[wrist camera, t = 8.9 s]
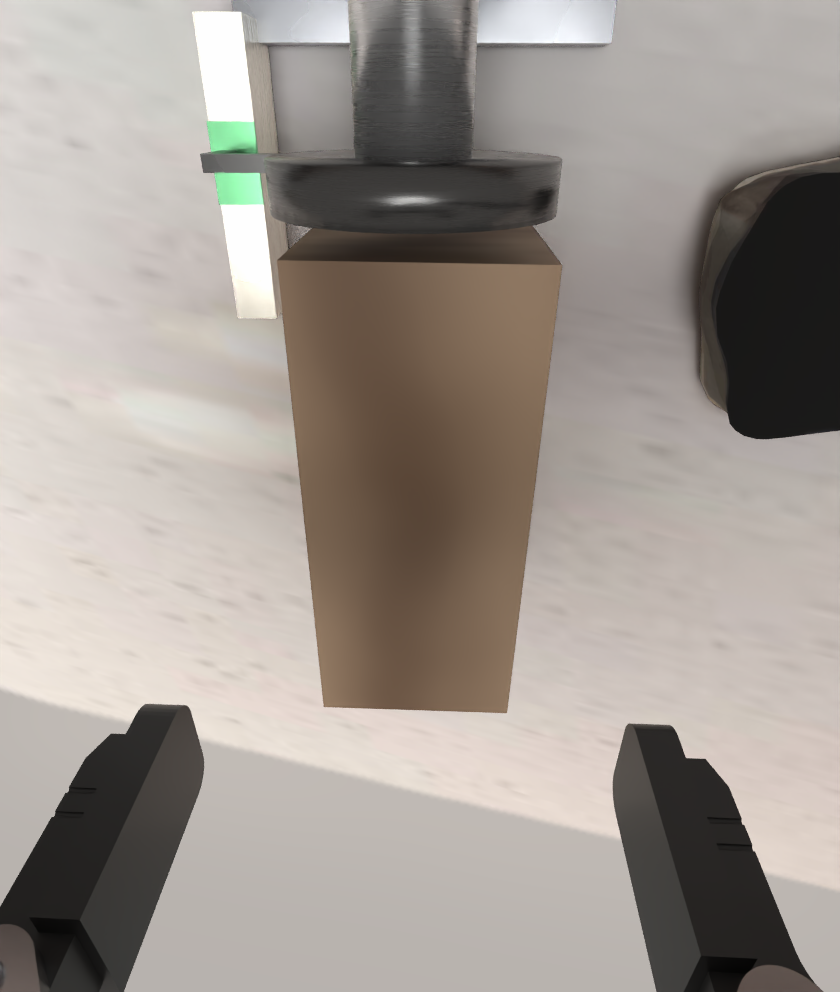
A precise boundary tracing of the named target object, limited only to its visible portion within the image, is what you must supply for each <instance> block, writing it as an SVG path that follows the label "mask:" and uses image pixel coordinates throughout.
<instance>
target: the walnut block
mask: <svg viewBox="0 0 840 992" xmlns="http://www.w3.org/2000/svg"><path fill="white" fill-rule="evenodd" d="M277 267H278V276H279V286H280V295H281V305H282V314H283V324H284V333H285V343H286V352H287V362H288V371H289V381H290V390H291V400H292V409H293V419H294V428H295V438H296V447H297V457H298V466H299V476H300V485H301V495H302V504H303V514H304V523H305V533H306V542H307V552H308V561H309V571H310V580H311V590H312V599H313V609H314V618H315V628H316V637H317V647H318V656H319V666H320V675H321V685H322V694H323V704H324V707H341V708H371V709H401V710H431V711H461V712H491V713H507V708H508V700H509V692H510V684H511V676H512V667H513V659H514V651H515V643H516V635H517V627H518V619H519V611H520V603H521V595H522V587H523V578H524V570H525V562H526V554H527V546H528V538H529V530H530V522H531V514H532V506H533V498H534V489H535V481H536V473H537V465H538V457H539V449H540V441H541V433H542V425H543V417H544V409H545V400H546V392H547V384H548V376H549V368H550V360H551V352H552V344H553V336H554V328H555V320H556V311H557V303H558V295H559V287H560V279H561V271H562V264H561V263H560V262H559V260H558V259H557V258H556V256H555V255H554V254H553V252H552V251H551V250H550V248H549V247H548V246H547V244H546V243H545V242H544V240H543V239H542V238H541V237H540V235H539V234H538V233H537V231H536V230H535V229H534V227H533V226H527V227H521V228H514V229H506V230H497V231H485V232H471V233H449V234H383V233H361V232H347V231H335V230H325V229H317V228H312V229H311V230H310V231H309V232H308V233H307V234H305V235H304V236H303V237H302V238H301V239H300V240H299V241H298V242H297V243H295V244H294V245H293V246H292V247H291V248H290V249H289V250H288V251H287V252H285V253H284V254H283V255H282V256H281V257H280V258H279V259H278V260H277Z"/></svg>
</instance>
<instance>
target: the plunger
mask: <svg viewBox="0 0 840 992" xmlns="http://www.w3.org/2000/svg"><path fill="white" fill-rule="evenodd" d="M478 5H479V0H348V18H349V40H350V62H351V84H352V107H353V129H354V150H325V151H307V152H294V153H237V151H236V150H219V151H214V152H208V153H203V154H200V155H201V161H202V168H203V173H266V181H267V190H268V199H269V208H270V215H271V216H272V217H273V218H275V219H277V220H279V221H282V222H285V223H289V224H293V225H298V226H304V227H310V228H317V229H325V230H335V231H347V232H361V233H383V234H449V233H471V232H485V231H497V230H506V229H514V228H521V227H527V226H532V225H537V224H540V223H544V222H547V221H549V220H552V219H553V218H554V217H556V213H557V204H558V194H559V185H560V176H561V167H562V159H561V158H559V157H556V156H550V155H543V154H534V153H522V152H507V151H487V150H472V148H473V124H474V100H475V76H476V53H477V29H478Z"/></svg>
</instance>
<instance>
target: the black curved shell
mask: <svg viewBox="0 0 840 992" xmlns="http://www.w3.org/2000/svg"><path fill="white" fill-rule="evenodd" d="M699 308H700V323H701V334H702V339H701V352H700V381H701V383H702V385H703V387H704V390H705V392H706V395H707V397H708V399H709V400H710V401H711V402H712V403H713V404H714V405H716V406H718V407H719V408H721V409H722V410H724V411H726V412H727V413H728V416H729V422H730V424H731V426H732V427H733V428H734V429H735V430H736V431H737V432H739V433H740V434H742V435H744V436H747V437H751V438H755V439H773V438H784V437H791V436H799V435H806V434H814V433H822V432H830V431H839V430H840V157H837V158H832V159H826V160H821V161H816V162H810V163H805V164H800V165H795V166H790V167H785V168H780V169H775V170H770V171H766V172H763V173H761V174H758V175H755V176H752V177H749V178H746V179H745V180H744V181H742V182H741V183H740V184H738V185H737V186H736V187H735V188H734V189H733V190H732V191H731V192H729V193H727V194H726V195H725V196H724V197H723V198H722V199H721V200H720V203H719V205H718V208H717V210H716V213H715V216H714V218H713V221H712V225H711V229H710V232H709V238H708V243H707V249H706V255H705V260H704V266H703V272H702V277H701V283H700V294H699Z"/></svg>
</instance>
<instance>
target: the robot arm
mask: <svg viewBox="0 0 840 992" xmlns="http://www.w3.org/2000/svg"><path fill="white" fill-rule="evenodd" d="M203 771H204V758H203V753H202V749H201V746H200V742H199V739H198V735H197V732H196V728H195V725H194V721H193V718H192V714H191V711H190V709H189V707H188V706H186V705H162V704H145V705H144V706H142V707H141V708H140V710H139V711H138V712H137V714H136V716H135V718H134V720H133V722H132V723H131V725H130V728H129V729H128V731H127V733H126V734H110V735H109V736H108V737H107V738H106V739H105V740H104V741H103V742H102V743H101V744H100V745H99V746H98V747H97V748H96V749H95V750H94V751H93V752H92V753H91V754H89V756H87V757H86V759H85V760H84V762H83V764H82V765H81V767H80V769H79V771H78V772H77V774H76V776H75V778H74V779H73V781H72V783H71V785H70V786H69V792H68V793H65V795H64V797H63V799H62V800H61V802H60V804H59V805H58V807H57V809H56V811H55V812H56V813H55V816H54V817H52V818H51V819H50V821H49V823H48V825H47V826H46V828H45V830H44V831H43V833H42V835H41V837H40V838H39V840H38V842H37V844H36V845H35V847H34V849H33V851H32V852H31V854H30V856H29V858H28V859H27V861H26V863H25V865H24V866H23V868H22V870H21V872H20V873H19V875H18V877H17V878H16V880H15V882H14V884H13V885H12V887H11V889H10V891H9V893H8V894H7V896H6V898H5V899H4V901H3V903H2V905H1V906H0V992H124V989H125V987H126V984H127V981H128V979H129V976H130V974H131V971H132V968H133V966H134V963H135V960H136V958H137V955H138V952H139V950H140V947H141V945H142V942H143V939H144V937H145V934H146V931H147V929H148V926H149V923H150V921H151V918H152V916H153V913H154V910H155V907H156V905H157V902H158V900H159V897H160V894H161V892H162V889H163V886H164V883H165V881H166V879H167V876H168V873H169V871H170V868H171V865H172V863H173V860H174V857H175V855H176V852H177V849H178V847H179V844H180V841H181V839H182V836H183V834H184V831H185V828H186V825H187V823H188V820H189V818H190V815H191V812H192V810H193V807H194V805H195V802H196V799H197V797H198V794H199V791H200V788H201V784H202V779H203ZM613 800H614V807H615V812H616V817H617V821H618V826H619V830H620V834H621V839H622V843H623V847H624V852H625V856H626V861H627V865H628V869H629V873H630V877H631V882H632V886H633V891H634V895H635V900H636V904H637V908H638V912H639V917H640V921H641V926H642V930H643V935H644V939H645V943H646V948H647V952H648V956H649V961H650V965H651V969H652V974H653V978H654V982H655V987H656V991H657V992H823V991H822V990H821V989H820V988H819V987H818V986H817V985H816V984H815V983H814V981H813V980H812V979H811V978H810V976H809V975H808V973H807V972H806V970H805V968H804V967H803V965H802V964H801V962H800V960H799V958H798V955H797V954H796V951H795V949H794V946H793V944H792V941H791V939H790V937H789V934H788V932H787V929H786V927H785V924H784V922H783V919H782V917H781V914H780V912H779V909H778V907H777V904H776V902H775V900H774V897H773V895H772V892H771V890H770V887H769V885H768V882H767V880H766V877H765V875H764V873H763V870H762V868H761V865H760V863H759V860H758V858H757V855H756V853H755V852H753V850H752V843H751V841H750V838H749V836H748V833H747V831H746V828H745V826H744V825H742V822H741V819H742V818H741V816H740V814H739V811H738V809H737V806H736V804H735V801H734V799H733V796H732V794H731V791H730V789H729V787H728V785H727V784H726V783H725V782H724V781H723V779H722V778H721V777H720V776H719V775H718V774H717V772H716V771H715V770H714V769H713V768H712V766H711V765H710V764H709V763H708V762H707V760H706V759H692V758H686V757H685V755H684V752H683V749H682V746H681V743H680V741H679V738H678V735H677V733H676V731H675V729H674V728H673V727H672V726H670V725H651V724H628V725H627V726H626V728H625V732H624V736H623V740H622V744H621V747H620V751H619V755H618V759H617V763H616V767H615V771H614V776H613Z"/></svg>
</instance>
